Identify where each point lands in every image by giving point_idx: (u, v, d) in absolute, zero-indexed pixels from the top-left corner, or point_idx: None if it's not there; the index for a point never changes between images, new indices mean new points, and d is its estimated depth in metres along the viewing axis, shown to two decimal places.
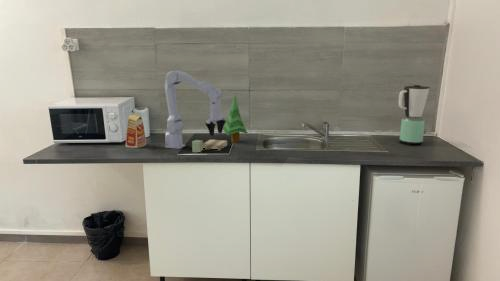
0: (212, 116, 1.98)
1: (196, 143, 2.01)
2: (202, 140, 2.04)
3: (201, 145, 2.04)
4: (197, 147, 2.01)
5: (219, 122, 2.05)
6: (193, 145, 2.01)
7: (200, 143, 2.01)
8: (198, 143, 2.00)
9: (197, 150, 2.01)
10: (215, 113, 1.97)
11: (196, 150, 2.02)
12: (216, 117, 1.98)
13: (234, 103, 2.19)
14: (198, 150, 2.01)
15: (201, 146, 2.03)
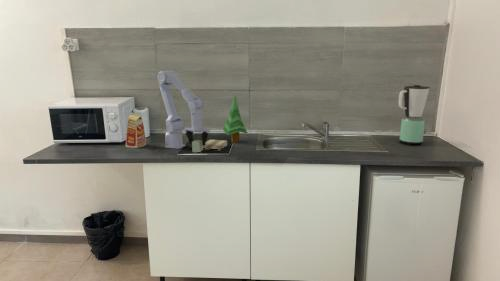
0: None
1: (196, 143, 2.01)
2: None
3: (201, 145, 2.04)
4: (197, 147, 2.01)
5: None
6: (193, 145, 2.01)
7: (200, 143, 2.01)
8: (198, 143, 2.00)
9: (197, 150, 2.01)
10: None
11: (196, 150, 2.02)
12: None
13: (234, 103, 2.19)
14: (198, 150, 2.01)
15: (201, 146, 2.03)
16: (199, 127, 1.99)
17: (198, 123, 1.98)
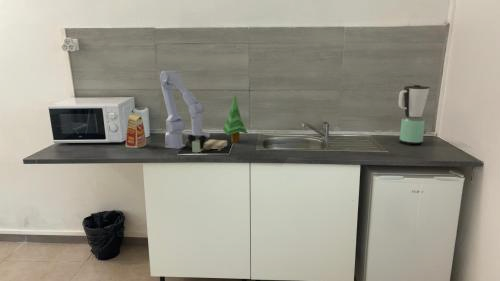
0: None
1: (196, 143, 2.01)
2: None
3: None
4: (197, 147, 2.01)
5: None
6: (193, 145, 2.01)
7: None
8: (198, 143, 2.00)
9: (197, 150, 2.01)
10: None
11: (196, 150, 2.02)
12: (192, 131, 2.00)
13: (234, 103, 2.19)
14: (198, 150, 2.01)
15: None
16: (199, 131, 1.99)
17: (198, 127, 1.98)
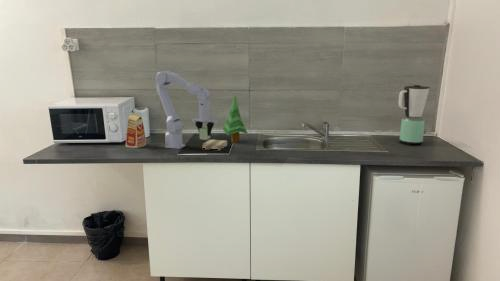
0: None
1: (203, 130, 2.02)
2: None
3: None
4: (204, 134, 2.03)
5: None
6: (200, 132, 2.03)
7: (207, 130, 2.03)
8: (205, 130, 2.02)
9: (204, 137, 2.03)
10: (199, 114, 2.02)
11: (203, 137, 2.03)
12: (199, 118, 2.02)
13: (234, 103, 2.19)
14: (206, 137, 2.03)
15: None
16: (207, 117, 2.01)
17: (206, 113, 2.00)
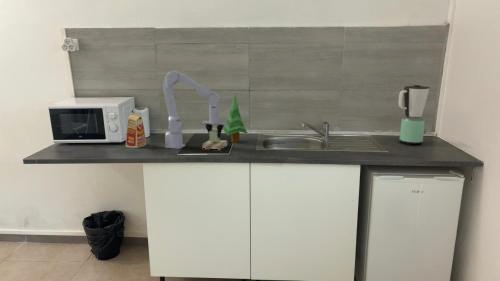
0: None
1: (213, 133, 2.08)
2: None
3: None
4: (214, 137, 2.08)
5: None
6: (210, 135, 2.09)
7: (217, 133, 2.09)
8: (215, 133, 2.07)
9: (214, 139, 2.09)
10: (209, 116, 2.07)
11: (213, 139, 2.09)
12: None
13: (234, 103, 2.19)
14: (216, 139, 2.08)
15: None
16: (217, 120, 2.07)
17: (216, 116, 2.06)
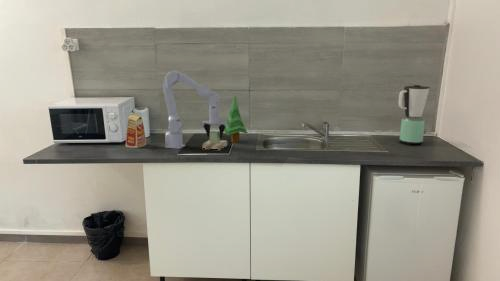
0: None
1: (213, 134, 2.08)
2: None
3: (218, 136, 2.11)
4: (214, 138, 2.09)
5: None
6: (210, 136, 2.09)
7: (217, 134, 2.09)
8: (215, 134, 2.08)
9: (214, 141, 2.09)
10: (209, 116, 2.07)
11: (213, 141, 2.09)
12: None
13: (234, 103, 2.19)
14: (216, 141, 2.09)
15: (218, 137, 2.11)
16: (217, 120, 2.07)
17: (216, 116, 2.06)
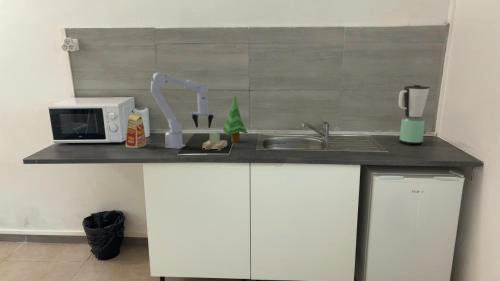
0: None
1: (213, 134, 2.08)
2: None
3: (218, 136, 2.11)
4: (214, 138, 2.09)
5: None
6: (210, 136, 2.09)
7: (217, 134, 2.09)
8: (215, 134, 2.08)
9: (214, 141, 2.09)
10: (198, 107, 2.13)
11: (213, 141, 2.09)
12: (198, 111, 2.13)
13: (234, 103, 2.19)
14: (216, 141, 2.09)
15: (218, 137, 2.11)
16: (205, 110, 2.13)
17: (205, 107, 2.12)
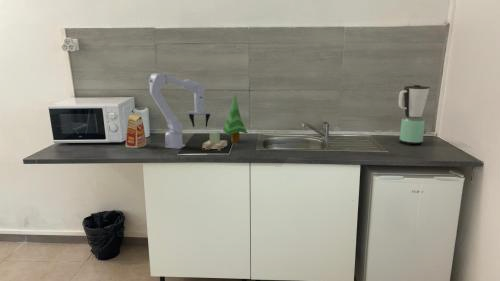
0: None
1: (213, 134, 2.08)
2: None
3: (218, 136, 2.11)
4: (214, 138, 2.09)
5: None
6: (210, 136, 2.09)
7: (217, 134, 2.09)
8: (215, 134, 2.08)
9: (214, 141, 2.09)
10: (195, 107, 2.14)
11: (213, 141, 2.09)
12: (195, 110, 2.15)
13: (234, 103, 2.19)
14: (216, 141, 2.09)
15: (218, 137, 2.11)
16: (203, 110, 2.15)
17: (202, 106, 2.14)
